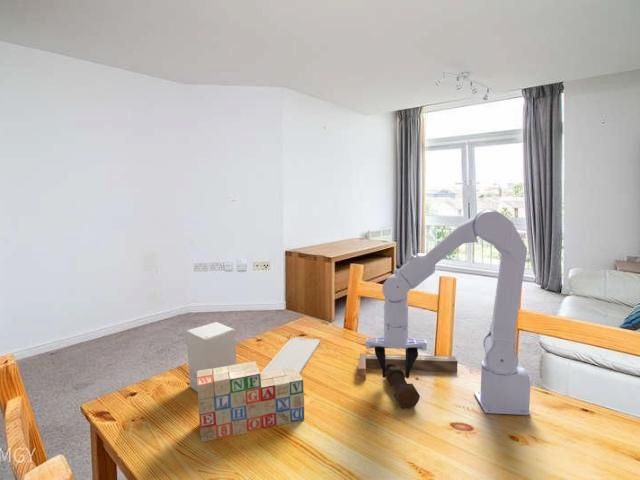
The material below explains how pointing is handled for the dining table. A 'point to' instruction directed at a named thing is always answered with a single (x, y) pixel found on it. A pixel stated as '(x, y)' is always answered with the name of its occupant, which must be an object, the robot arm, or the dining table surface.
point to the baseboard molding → (293, 354)
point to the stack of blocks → (247, 399)
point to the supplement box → (210, 349)
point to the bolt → (401, 387)
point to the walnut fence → (400, 360)
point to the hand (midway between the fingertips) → (395, 376)
